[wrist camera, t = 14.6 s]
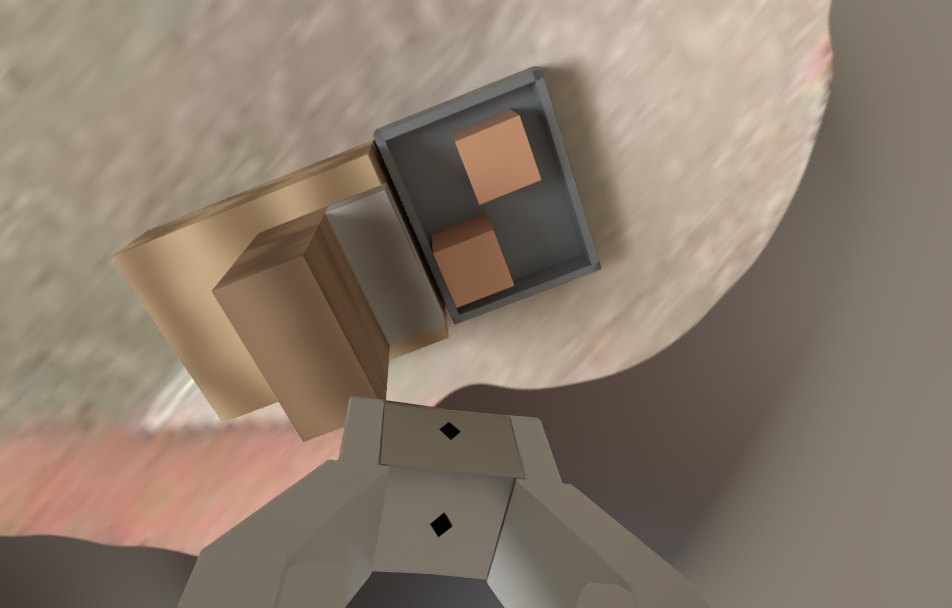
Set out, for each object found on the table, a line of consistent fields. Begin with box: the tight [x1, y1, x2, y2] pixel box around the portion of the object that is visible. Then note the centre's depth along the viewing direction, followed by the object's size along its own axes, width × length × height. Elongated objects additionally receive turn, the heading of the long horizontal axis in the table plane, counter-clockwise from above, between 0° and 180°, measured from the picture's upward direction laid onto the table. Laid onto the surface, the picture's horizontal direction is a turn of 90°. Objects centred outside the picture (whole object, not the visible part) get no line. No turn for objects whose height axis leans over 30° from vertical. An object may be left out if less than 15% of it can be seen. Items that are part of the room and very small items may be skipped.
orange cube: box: [451, 108, 541, 205], centre depth 42 cm, size 4×4×4 cm
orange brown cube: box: [431, 213, 514, 308], centre depth 45 cm, size 4×4×4 cm
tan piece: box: [111, 141, 449, 423], centre depth 44 cm, size 18×14×6 cm
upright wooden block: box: [212, 183, 444, 442], centre depth 36 cm, size 9×10×10 cm
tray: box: [373, 67, 601, 324], centre depth 44 cm, size 12×15×3 cm
